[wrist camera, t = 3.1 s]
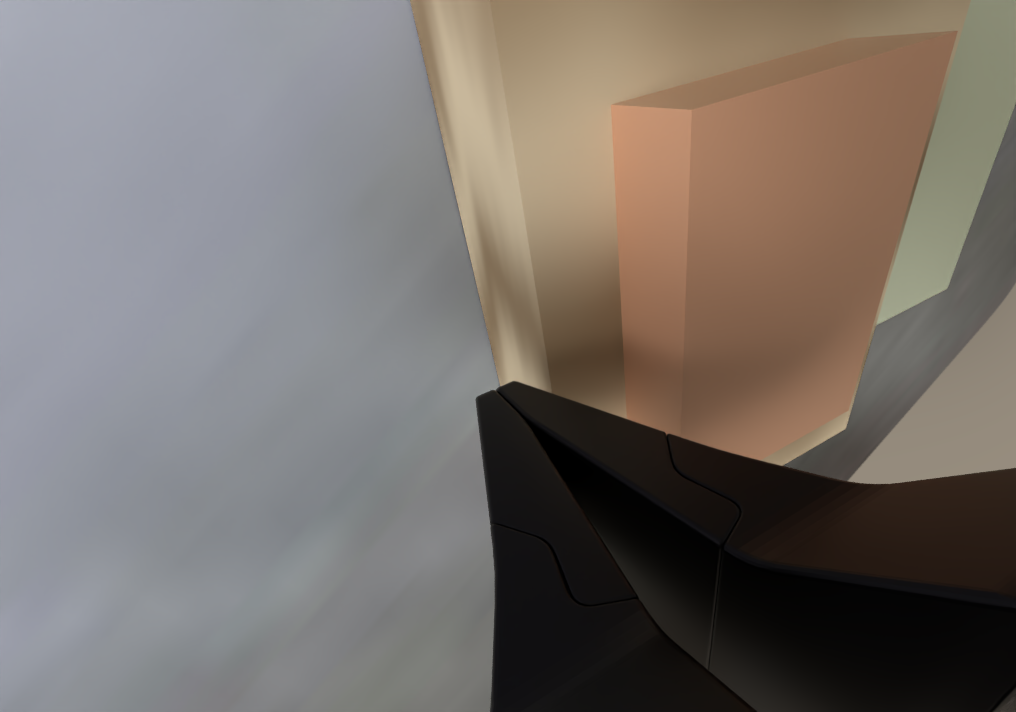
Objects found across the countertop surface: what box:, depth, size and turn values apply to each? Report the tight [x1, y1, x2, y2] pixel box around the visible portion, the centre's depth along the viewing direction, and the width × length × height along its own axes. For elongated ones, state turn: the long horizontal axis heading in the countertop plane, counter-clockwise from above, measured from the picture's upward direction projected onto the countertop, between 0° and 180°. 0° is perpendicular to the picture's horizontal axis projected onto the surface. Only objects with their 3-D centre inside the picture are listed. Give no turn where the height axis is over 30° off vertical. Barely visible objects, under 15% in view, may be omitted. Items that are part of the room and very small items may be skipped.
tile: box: [611, 31, 958, 460], centre depth 11 cm, size 9×6×2 cm, turn 11°
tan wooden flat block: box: [410, 0, 971, 466], centre depth 14 cm, size 18×12×4 cm, turn 11°
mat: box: [876, 0, 1016, 325], centre depth 19 cm, size 18×12×1 cm, turn 11°
